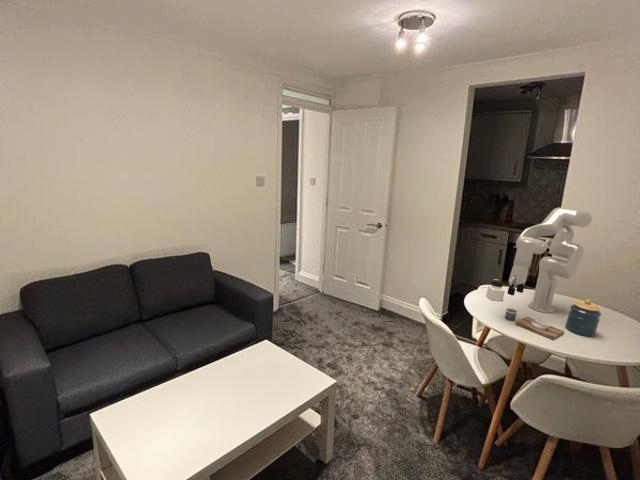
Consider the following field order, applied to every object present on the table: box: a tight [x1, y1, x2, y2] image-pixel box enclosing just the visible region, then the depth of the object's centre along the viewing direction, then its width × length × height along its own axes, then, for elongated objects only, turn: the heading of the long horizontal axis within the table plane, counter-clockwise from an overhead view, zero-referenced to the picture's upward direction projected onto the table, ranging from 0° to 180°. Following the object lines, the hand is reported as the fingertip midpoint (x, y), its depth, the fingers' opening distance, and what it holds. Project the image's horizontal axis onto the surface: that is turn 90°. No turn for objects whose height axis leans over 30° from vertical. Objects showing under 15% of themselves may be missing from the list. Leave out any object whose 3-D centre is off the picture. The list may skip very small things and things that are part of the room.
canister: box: [565, 298, 602, 338], centre depth 181 cm, size 13×13×18 cm
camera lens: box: [504, 307, 518, 322], centre depth 190 cm, size 5×5×5 cm
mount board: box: [515, 316, 565, 341], centre depth 181 cm, size 13×18×3 cm
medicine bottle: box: [485, 279, 505, 302], centre depth 217 cm, size 7×7×12 cm
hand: (515, 293), depth 187 cm, fingers open, 9 cm apart
